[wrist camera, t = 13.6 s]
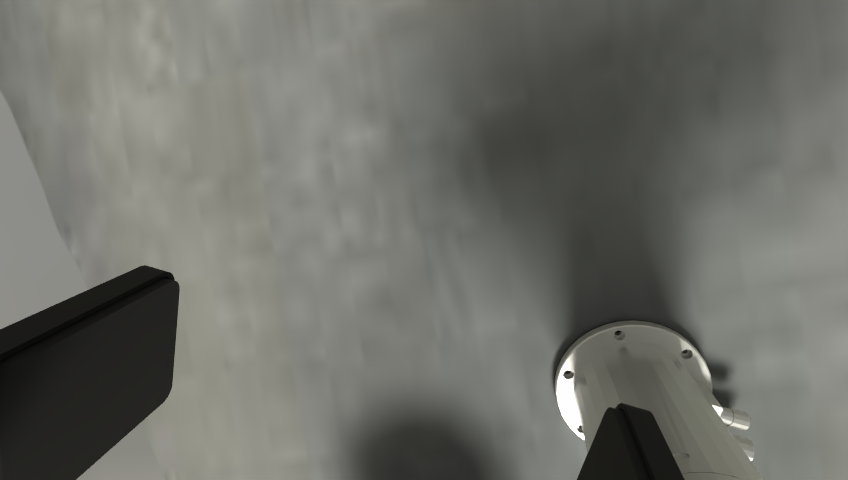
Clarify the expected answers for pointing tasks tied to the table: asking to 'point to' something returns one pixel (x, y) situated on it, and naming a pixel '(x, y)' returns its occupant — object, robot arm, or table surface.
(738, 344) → the table surface
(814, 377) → the table surface
